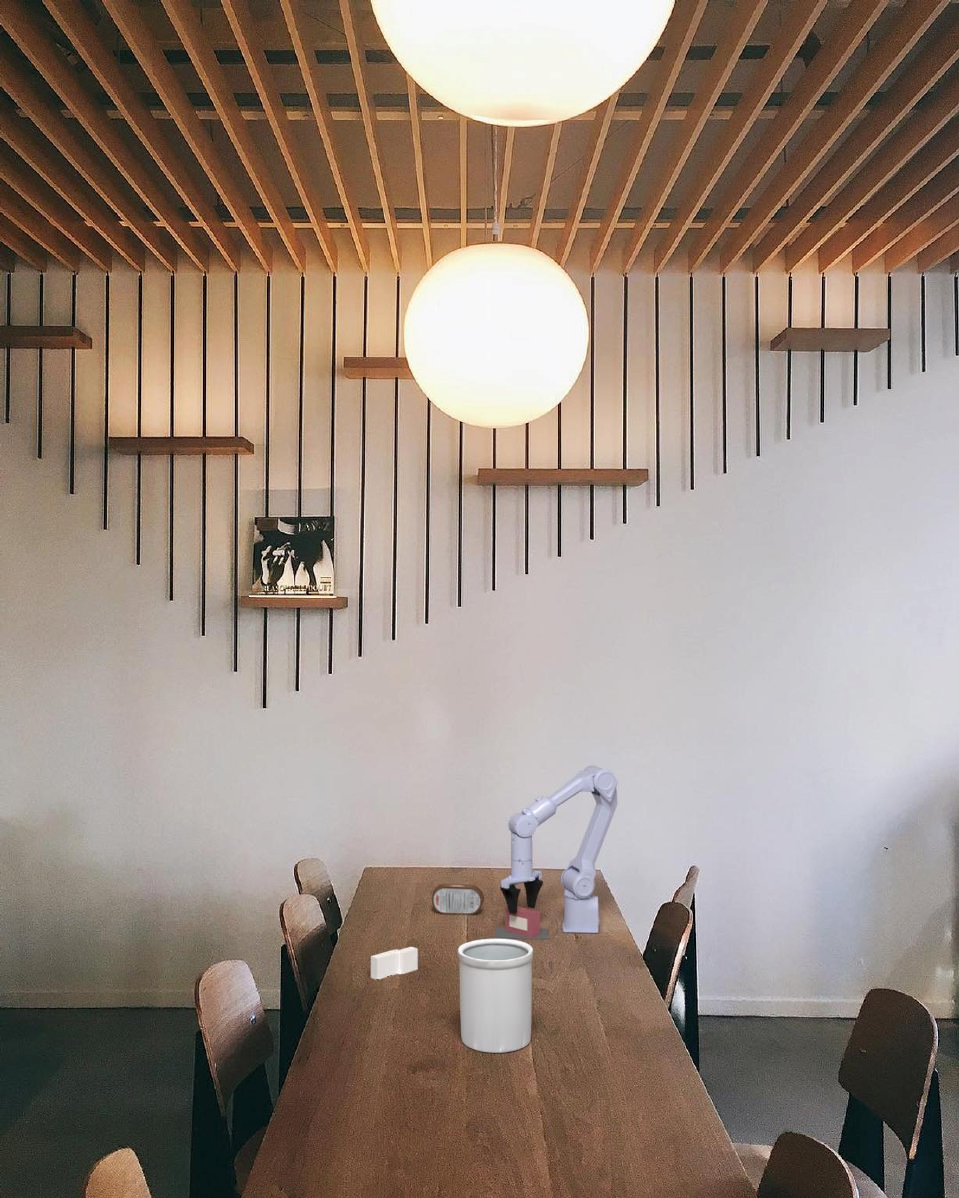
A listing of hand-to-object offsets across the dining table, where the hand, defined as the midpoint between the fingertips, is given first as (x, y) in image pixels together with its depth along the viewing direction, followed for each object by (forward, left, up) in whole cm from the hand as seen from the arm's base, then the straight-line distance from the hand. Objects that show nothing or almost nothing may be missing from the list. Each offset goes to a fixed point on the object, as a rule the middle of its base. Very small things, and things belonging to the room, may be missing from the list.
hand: (522, 910), depth 260 cm
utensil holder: (+3, +69, -7) cm, 69 cm away
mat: (0, 0, -6) cm, 6 cm away
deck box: (0, 0, -6) cm, 6 cm away
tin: (+19, -18, -7) cm, 27 cm away
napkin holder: (+28, +33, -7) cm, 44 cm away
